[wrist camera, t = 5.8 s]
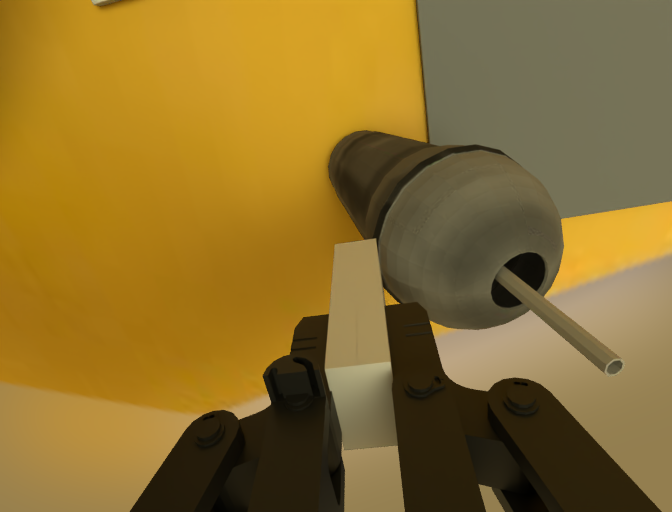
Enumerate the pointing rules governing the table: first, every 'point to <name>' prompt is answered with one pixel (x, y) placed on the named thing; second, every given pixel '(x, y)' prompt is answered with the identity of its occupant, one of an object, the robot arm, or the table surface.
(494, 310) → the beverage cup
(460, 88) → the mat
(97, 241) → the table surface
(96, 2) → the external hard drive
